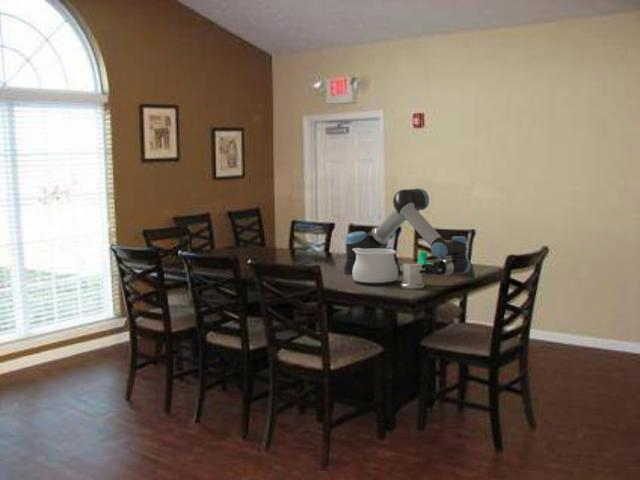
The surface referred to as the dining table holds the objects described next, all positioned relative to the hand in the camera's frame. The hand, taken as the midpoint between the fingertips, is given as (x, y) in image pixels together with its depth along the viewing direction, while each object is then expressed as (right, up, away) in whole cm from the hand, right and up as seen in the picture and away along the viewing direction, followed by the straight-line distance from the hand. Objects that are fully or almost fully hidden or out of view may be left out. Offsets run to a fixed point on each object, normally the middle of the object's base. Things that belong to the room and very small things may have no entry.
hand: (406, 270), depth 366 cm
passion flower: (+35, +1, +93) cm, 100 cm away
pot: (-15, -7, +19) cm, 25 cm away
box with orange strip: (+3, -7, +2) cm, 8 cm away
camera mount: (+20, -2, +67) cm, 70 cm away
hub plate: (+3, -9, +2) cm, 10 cm away
